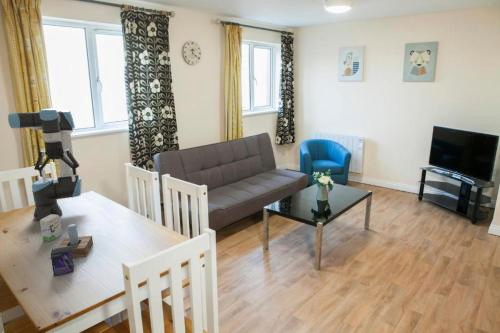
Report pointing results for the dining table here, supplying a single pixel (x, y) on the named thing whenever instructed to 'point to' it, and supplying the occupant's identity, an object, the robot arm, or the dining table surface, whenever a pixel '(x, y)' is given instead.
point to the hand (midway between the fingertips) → (59, 181)
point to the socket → (79, 246)
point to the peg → (73, 234)
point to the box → (62, 260)
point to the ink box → (50, 227)
